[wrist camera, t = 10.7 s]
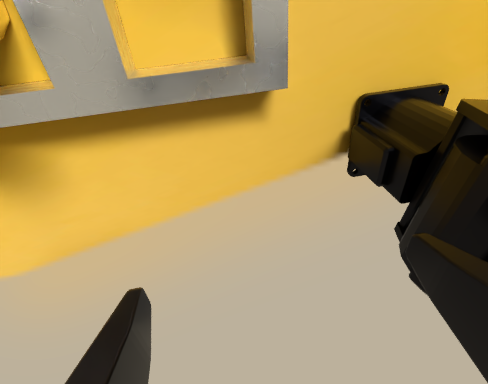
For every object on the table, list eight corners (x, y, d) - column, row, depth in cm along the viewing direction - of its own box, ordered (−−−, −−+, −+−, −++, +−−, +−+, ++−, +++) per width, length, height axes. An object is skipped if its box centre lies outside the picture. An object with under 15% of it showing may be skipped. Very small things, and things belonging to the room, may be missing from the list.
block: (272, -156, 12) (289, -190, 10) (275, 78, 17) (287, 88, 15) (-261, -125, 10) (-376, -157, 8) (-66, 123, 15) (-104, 141, 13)
